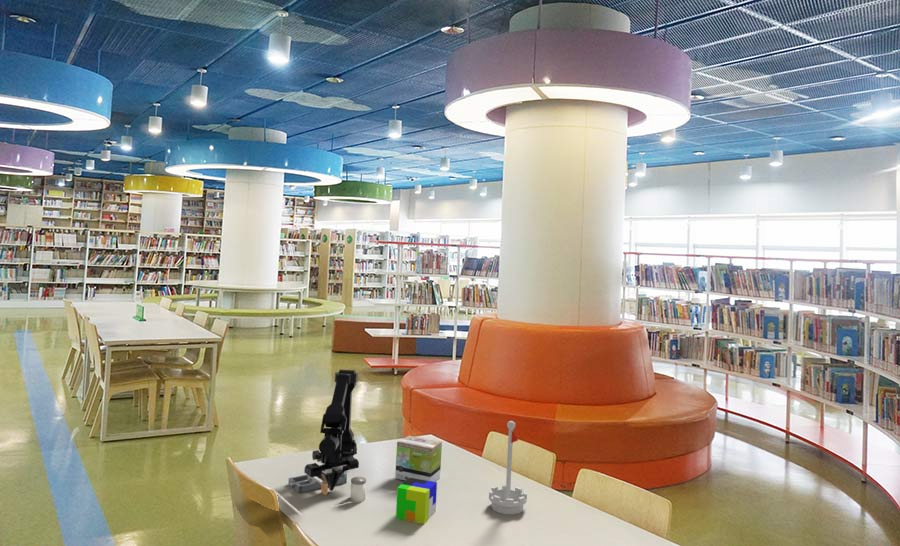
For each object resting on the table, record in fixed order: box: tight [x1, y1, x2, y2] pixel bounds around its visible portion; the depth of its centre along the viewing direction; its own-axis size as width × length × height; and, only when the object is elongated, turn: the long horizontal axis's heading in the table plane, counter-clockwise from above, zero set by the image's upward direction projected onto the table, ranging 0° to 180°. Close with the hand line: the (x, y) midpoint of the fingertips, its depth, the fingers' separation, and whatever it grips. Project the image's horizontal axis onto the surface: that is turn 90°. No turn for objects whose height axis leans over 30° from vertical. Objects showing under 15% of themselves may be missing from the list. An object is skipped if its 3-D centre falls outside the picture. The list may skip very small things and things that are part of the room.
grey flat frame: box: [288, 472, 348, 494], centre depth 213 cm, size 18×10×4 cm, turn 128°
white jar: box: [350, 476, 367, 503], centre depth 201 cm, size 5×5×7 cm
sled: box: [288, 474, 329, 496], centre depth 206 cm, size 10×14×4 cm
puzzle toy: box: [395, 477, 438, 525], centre depth 191 cm, size 10×10×10 cm
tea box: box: [394, 435, 443, 482], centre depth 223 cm, size 15×10×15 cm, turn 68°
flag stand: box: [488, 420, 528, 515], centre depth 200 cm, size 13×13×30 cm
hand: (331, 490), depth 206 cm, fingers closed
